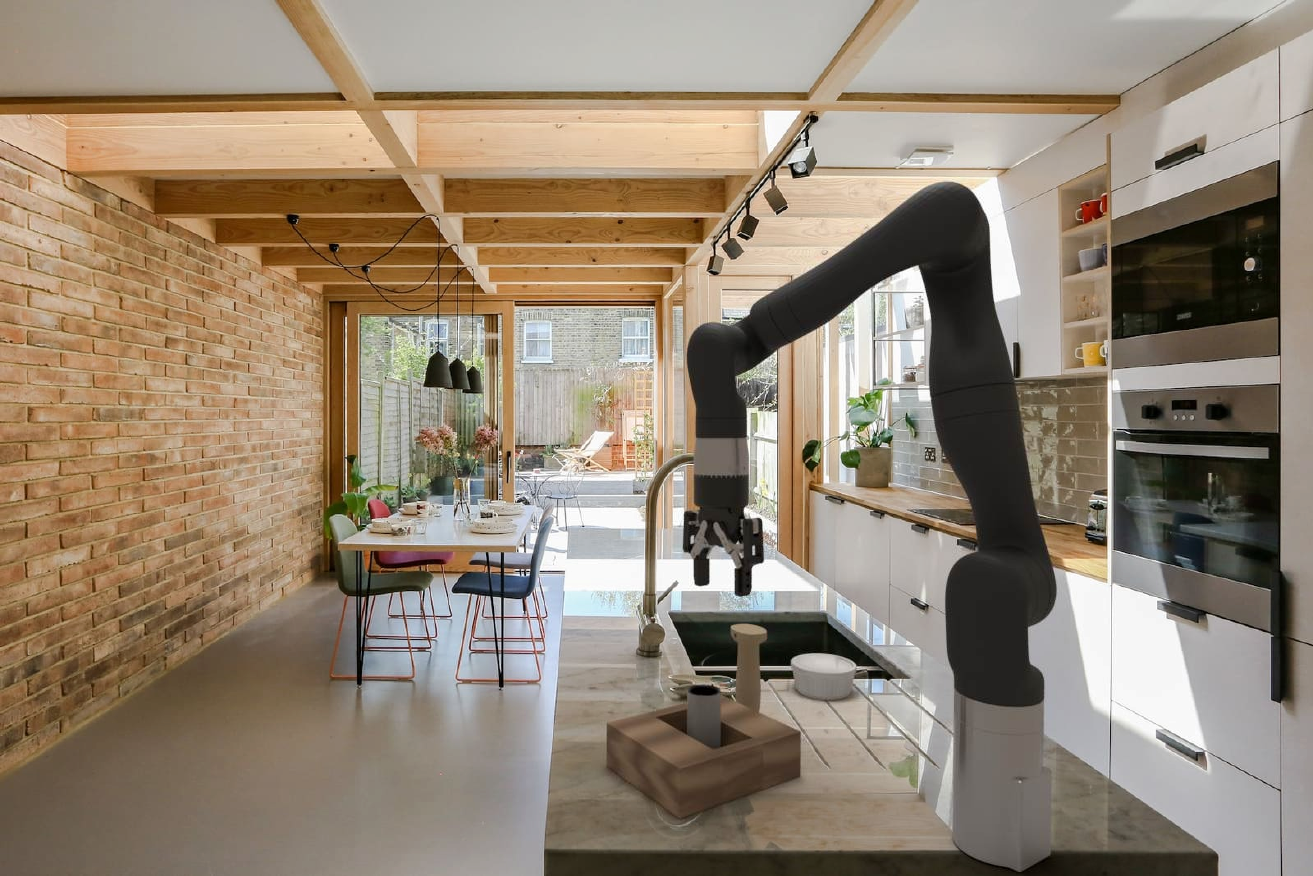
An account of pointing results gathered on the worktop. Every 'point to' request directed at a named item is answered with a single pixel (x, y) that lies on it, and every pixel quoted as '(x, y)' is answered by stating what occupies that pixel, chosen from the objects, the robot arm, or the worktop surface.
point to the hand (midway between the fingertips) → (721, 590)
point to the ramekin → (823, 675)
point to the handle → (748, 664)
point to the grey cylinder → (704, 715)
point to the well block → (702, 756)
